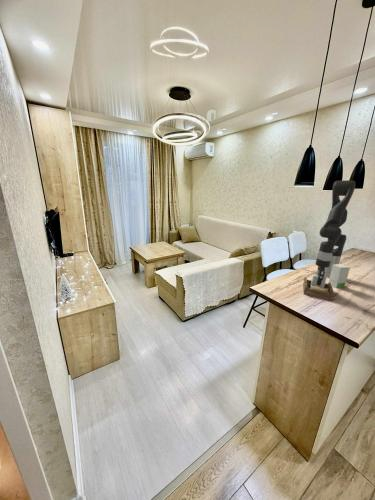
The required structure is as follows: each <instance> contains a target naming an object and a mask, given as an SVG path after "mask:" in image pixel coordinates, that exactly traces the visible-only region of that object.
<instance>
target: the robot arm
mask: <svg viewBox="0 0 375 500" xmlns="http://www.w3.org/2000/svg"><path fill="white" fill-rule="evenodd" d="M355 189H356V181H354V180H346V179H345V180H336V181H334V183H333V185H332V193H331V194H332V195H331V197H332V198H331V209H330V211H329V213H328V217H327V219H326V222H325V223H324V224H323V226H322V227H321V228H320V230H319V236H320V237H321V238H324V239H327V241H325V240H324V241H321V243H320V245H319V249H318V253H317V255H316V260H315V266H317V267H316V275H317V276H318V280H317V285H319V286H320V285H321V282H322V280H323V278H324V276H326V278H330V275H331V271H332V267H333V264H341V257H342V254H343V251H344V247H345V245H346V241H347V235H346V234H343V233H342V229H341V228H340V227H342V226H343V225H345V223H346V221H347V218H348V210H347V207H348V206H349V203H350V201H351V198H352V197H353V194H354V192H355ZM341 197H343V198H342V199H340V198H341ZM335 247H337V248H335ZM320 277H322V278H320Z"/></svg>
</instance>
